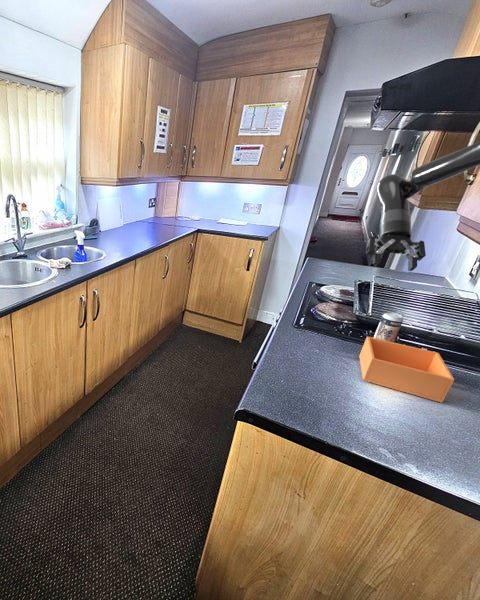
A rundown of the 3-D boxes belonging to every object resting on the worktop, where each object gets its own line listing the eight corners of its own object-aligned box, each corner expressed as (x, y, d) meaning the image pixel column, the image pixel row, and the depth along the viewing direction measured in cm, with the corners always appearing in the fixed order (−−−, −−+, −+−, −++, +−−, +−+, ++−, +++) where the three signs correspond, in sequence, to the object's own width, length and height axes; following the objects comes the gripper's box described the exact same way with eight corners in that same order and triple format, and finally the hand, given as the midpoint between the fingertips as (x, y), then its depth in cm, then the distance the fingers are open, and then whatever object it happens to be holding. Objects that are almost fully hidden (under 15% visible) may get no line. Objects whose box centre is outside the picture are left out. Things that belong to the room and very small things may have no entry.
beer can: (370, 349, 103) (384, 316, 98) (369, 343, 106) (382, 310, 101) (390, 354, 100) (406, 320, 95) (388, 347, 104) (403, 314, 99)
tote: (428, 373, 91) (438, 352, 89) (442, 402, 80) (454, 379, 77) (359, 355, 99) (367, 336, 97) (363, 380, 88) (372, 358, 85)
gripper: (373, 217, 109) (372, 258, 104) (430, 221, 103) (431, 264, 98) (363, 230, 115) (361, 270, 110) (415, 235, 110) (416, 276, 105)
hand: (394, 267), depth 104 cm, fingers open, 8 cm apart
